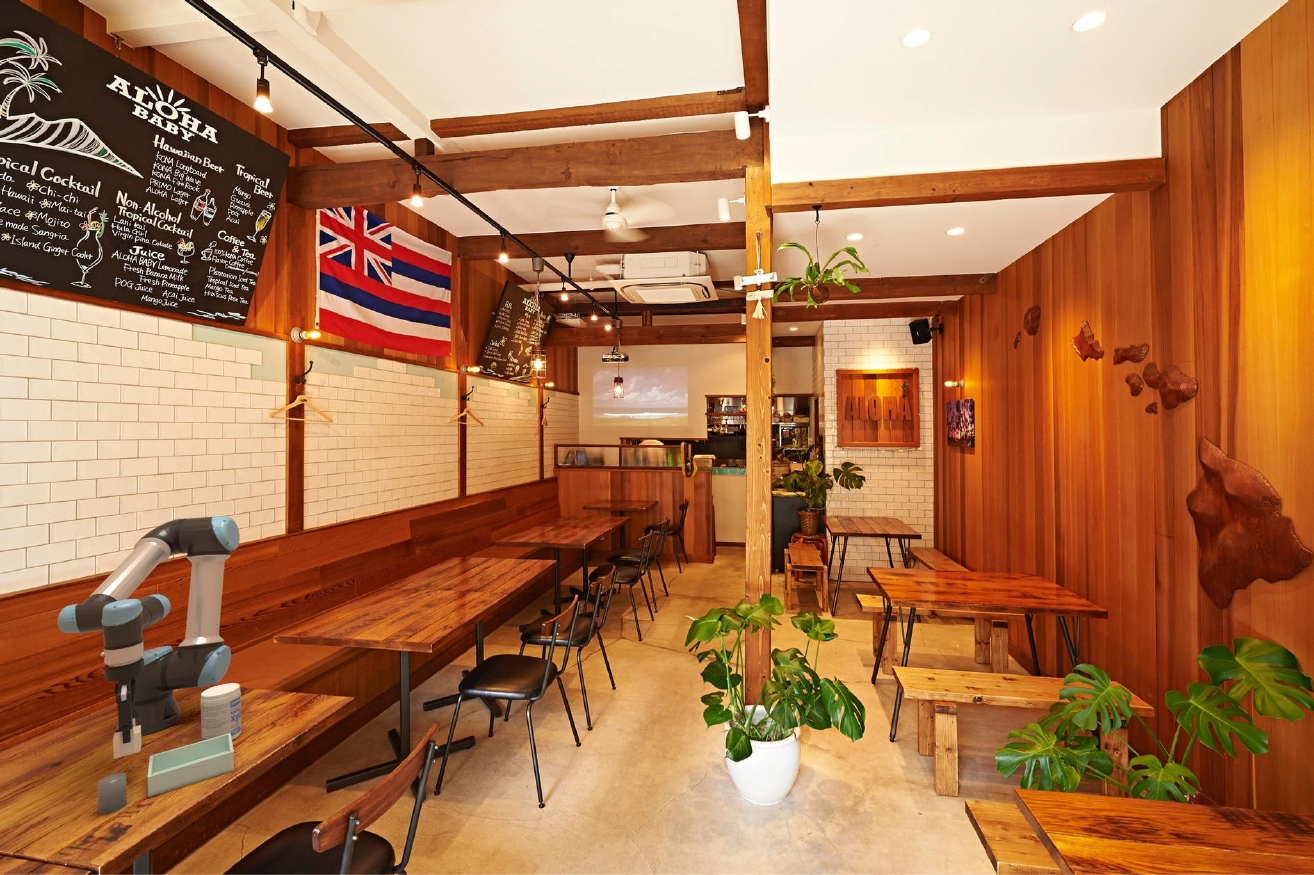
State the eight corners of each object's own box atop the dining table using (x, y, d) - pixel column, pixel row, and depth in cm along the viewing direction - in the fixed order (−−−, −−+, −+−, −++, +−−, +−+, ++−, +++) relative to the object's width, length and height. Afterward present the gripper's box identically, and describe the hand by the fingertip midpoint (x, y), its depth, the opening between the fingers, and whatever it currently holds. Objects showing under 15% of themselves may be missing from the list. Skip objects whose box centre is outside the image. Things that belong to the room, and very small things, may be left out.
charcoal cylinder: (99, 807, 138) (98, 778, 138) (127, 798, 141) (126, 770, 141) (97, 817, 134) (96, 788, 134) (126, 808, 137) (125, 779, 137)
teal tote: (150, 774, 151) (150, 756, 151) (231, 750, 162) (230, 733, 162) (148, 797, 141) (147, 777, 141) (234, 770, 152) (233, 751, 152)
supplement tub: (240, 740, 168) (239, 690, 168) (199, 751, 163) (198, 699, 163) (242, 727, 176) (241, 679, 176) (203, 737, 171) (202, 688, 171)
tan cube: (115, 750, 149) (114, 731, 149) (141, 743, 152) (140, 725, 152) (113, 759, 145) (113, 739, 145) (140, 751, 148) (139, 732, 148)
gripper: (107, 654, 153) (111, 740, 153) (100, 676, 139) (104, 770, 139) (145, 647, 158) (149, 730, 158) (141, 667, 144) (145, 758, 144)
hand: (128, 749), depth 149 cm, fingers closed on tan cube, 5 cm apart
